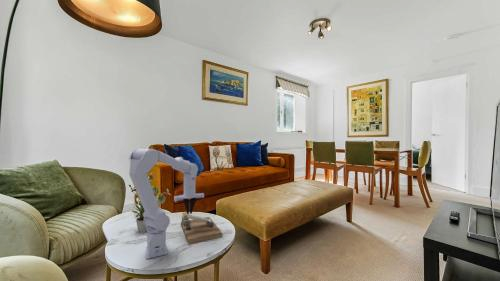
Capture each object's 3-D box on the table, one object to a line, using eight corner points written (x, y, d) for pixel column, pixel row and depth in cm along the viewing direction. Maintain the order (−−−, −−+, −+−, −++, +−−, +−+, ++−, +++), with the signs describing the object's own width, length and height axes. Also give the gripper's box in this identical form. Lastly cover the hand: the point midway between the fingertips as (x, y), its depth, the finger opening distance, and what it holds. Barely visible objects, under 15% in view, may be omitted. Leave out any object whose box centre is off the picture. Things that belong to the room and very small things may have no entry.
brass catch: (188, 218, 107) (188, 215, 107) (183, 219, 105) (183, 215, 105) (186, 215, 111) (186, 211, 111) (182, 216, 110) (182, 212, 110)
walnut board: (221, 236, 98) (221, 226, 98) (188, 244, 91) (188, 233, 90) (209, 220, 117) (209, 212, 117) (180, 225, 110) (180, 216, 110)
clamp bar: (211, 224, 105) (212, 221, 105) (188, 219, 99) (189, 215, 100) (209, 221, 108) (210, 218, 108) (186, 216, 103) (188, 213, 103)
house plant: (149, 238, 95) (149, 204, 95) (121, 237, 96) (121, 203, 95) (163, 225, 110) (163, 195, 109) (138, 224, 110) (138, 195, 110)
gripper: (201, 183, 108) (201, 208, 108) (173, 186, 101) (173, 212, 102) (205, 186, 102) (205, 212, 102) (175, 189, 95) (175, 217, 95)
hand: (189, 213), depth 101 cm, fingers closed
